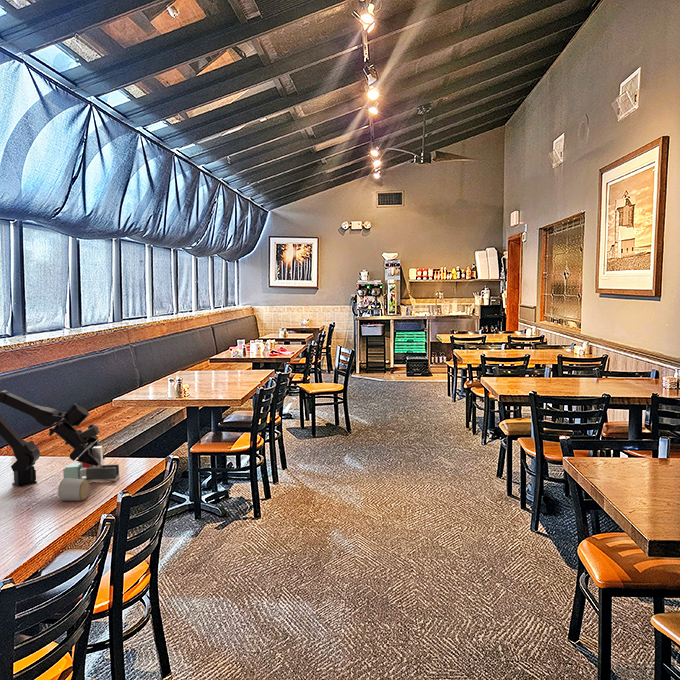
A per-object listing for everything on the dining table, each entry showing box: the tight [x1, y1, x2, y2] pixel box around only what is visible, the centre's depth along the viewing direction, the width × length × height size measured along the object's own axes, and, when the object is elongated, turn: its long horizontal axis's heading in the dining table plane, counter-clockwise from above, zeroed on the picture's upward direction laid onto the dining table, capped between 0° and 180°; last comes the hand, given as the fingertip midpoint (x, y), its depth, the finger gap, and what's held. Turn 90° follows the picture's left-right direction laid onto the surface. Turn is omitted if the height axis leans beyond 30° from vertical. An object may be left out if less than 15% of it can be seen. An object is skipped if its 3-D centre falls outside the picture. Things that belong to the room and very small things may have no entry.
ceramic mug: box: [57, 477, 90, 502], centre depth 202 cm, size 11×8×8 cm
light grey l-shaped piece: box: [78, 445, 104, 477], centre depth 222 cm, size 12×3×11 cm, turn 98°
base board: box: [80, 474, 120, 483], centre depth 222 cm, size 19×6×1 cm, turn 98°
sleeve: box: [86, 464, 120, 480], centre depth 223 cm, size 11×5×4 cm, turn 98°
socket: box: [62, 462, 82, 479], centre depth 221 cm, size 5×6×5 cm
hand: (101, 461), depth 222 cm, fingers open, 9 cm apart
